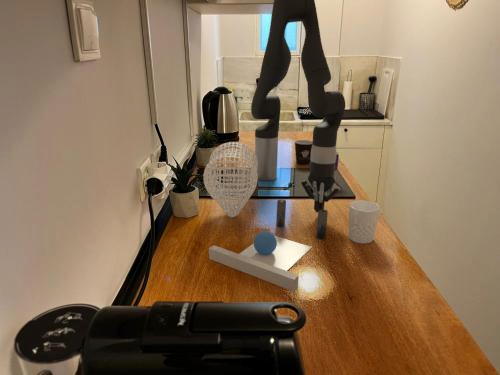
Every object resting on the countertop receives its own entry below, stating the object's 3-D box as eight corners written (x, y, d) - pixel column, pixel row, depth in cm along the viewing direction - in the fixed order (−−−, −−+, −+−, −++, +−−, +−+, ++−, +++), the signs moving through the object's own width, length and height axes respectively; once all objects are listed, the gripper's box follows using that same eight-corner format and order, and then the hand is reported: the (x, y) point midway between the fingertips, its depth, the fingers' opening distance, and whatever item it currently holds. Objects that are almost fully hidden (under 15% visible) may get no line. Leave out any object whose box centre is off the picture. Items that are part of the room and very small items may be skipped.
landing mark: (239, 254, 98) (239, 253, 98) (267, 234, 109) (267, 233, 109) (286, 271, 90) (286, 271, 90) (311, 247, 101) (311, 247, 101)
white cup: (375, 234, 109) (379, 202, 106) (374, 247, 102) (379, 213, 99) (347, 230, 112) (351, 198, 108) (344, 242, 105) (348, 209, 101)
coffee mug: (291, 164, 174) (292, 143, 170) (296, 159, 181) (297, 139, 178) (316, 167, 170) (318, 145, 166) (320, 162, 177) (322, 141, 174)
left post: (274, 226, 114) (275, 201, 111) (278, 223, 116) (279, 198, 113) (282, 228, 112) (283, 203, 109) (286, 225, 114) (287, 200, 111)
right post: (314, 237, 107) (316, 211, 104) (318, 234, 109) (320, 208, 106) (323, 240, 105) (325, 214, 103) (326, 236, 107) (329, 211, 105)
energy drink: (336, 184, 149) (339, 155, 145) (322, 183, 150) (324, 154, 146) (336, 180, 154) (338, 151, 149) (322, 179, 155) (325, 150, 150)
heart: (213, 199, 133) (211, 137, 125) (256, 200, 133) (258, 138, 125) (202, 236, 107) (199, 161, 99) (256, 237, 107) (258, 162, 99)
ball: (253, 226, 97) (265, 230, 102) (246, 249, 97) (258, 251, 102) (272, 233, 94) (283, 236, 98) (264, 256, 93) (276, 258, 98)
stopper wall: (209, 258, 96) (208, 248, 95) (214, 255, 97) (213, 245, 96) (293, 291, 83) (294, 279, 82) (297, 286, 85) (298, 275, 84)
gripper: (297, 158, 115) (294, 210, 121) (339, 166, 108) (333, 221, 114) (308, 153, 121) (305, 203, 127) (348, 160, 114) (343, 212, 120)
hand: (318, 211), depth 120 cm, fingers closed
